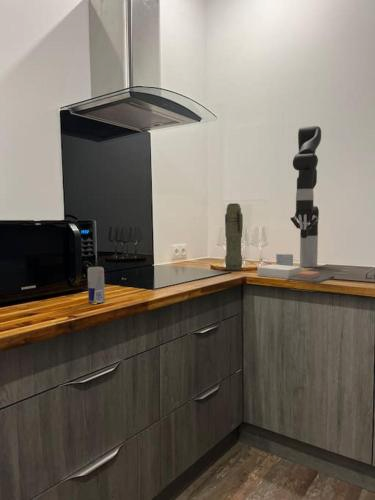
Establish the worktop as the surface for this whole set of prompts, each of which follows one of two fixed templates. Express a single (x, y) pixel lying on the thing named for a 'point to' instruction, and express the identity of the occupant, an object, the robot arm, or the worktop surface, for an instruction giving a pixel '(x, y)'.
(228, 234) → the thermos
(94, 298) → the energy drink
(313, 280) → the mat
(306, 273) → the tile
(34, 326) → the worktop surface
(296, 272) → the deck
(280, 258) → the medicine box
